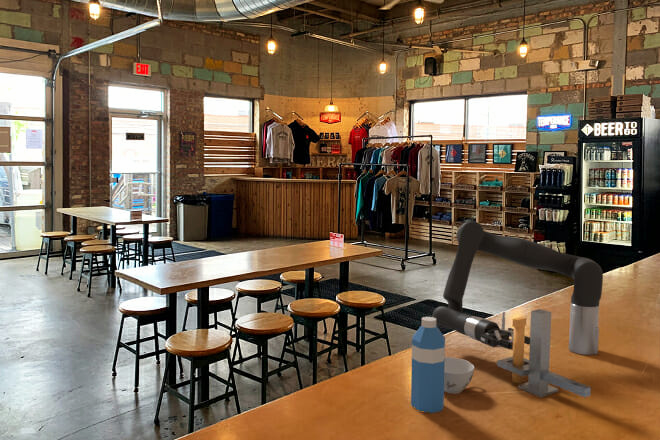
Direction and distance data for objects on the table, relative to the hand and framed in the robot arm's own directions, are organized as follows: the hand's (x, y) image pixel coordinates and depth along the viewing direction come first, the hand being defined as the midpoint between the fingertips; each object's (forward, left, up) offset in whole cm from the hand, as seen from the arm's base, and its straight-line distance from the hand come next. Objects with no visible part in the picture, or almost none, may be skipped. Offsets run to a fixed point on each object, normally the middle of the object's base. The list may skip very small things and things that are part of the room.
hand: (521, 343), depth 170 cm
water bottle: (+25, +25, -12) cm, 38 cm away
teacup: (+19, +11, -12) cm, 25 cm away
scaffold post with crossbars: (-7, +6, -12) cm, 15 cm away
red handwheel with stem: (+7, -37, -12) cm, 39 cm away
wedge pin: (+1, -1, -12) cm, 12 cm away
